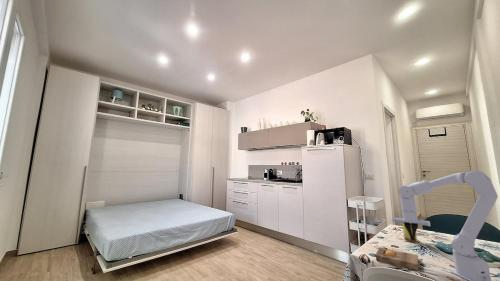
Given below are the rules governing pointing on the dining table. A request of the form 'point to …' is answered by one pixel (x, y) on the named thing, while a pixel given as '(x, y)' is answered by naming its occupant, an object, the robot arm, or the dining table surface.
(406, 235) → the sauce bottle
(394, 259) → the board
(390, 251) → the ball
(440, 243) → the dining table surface
